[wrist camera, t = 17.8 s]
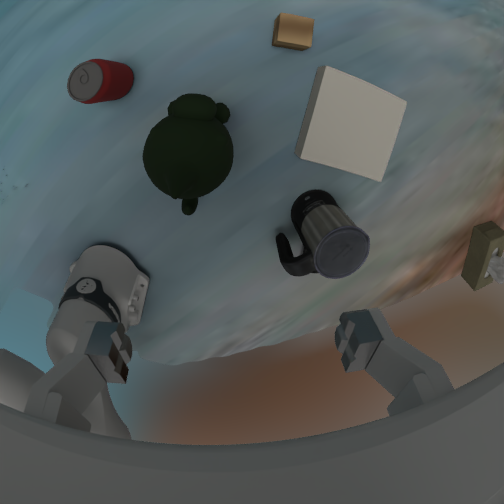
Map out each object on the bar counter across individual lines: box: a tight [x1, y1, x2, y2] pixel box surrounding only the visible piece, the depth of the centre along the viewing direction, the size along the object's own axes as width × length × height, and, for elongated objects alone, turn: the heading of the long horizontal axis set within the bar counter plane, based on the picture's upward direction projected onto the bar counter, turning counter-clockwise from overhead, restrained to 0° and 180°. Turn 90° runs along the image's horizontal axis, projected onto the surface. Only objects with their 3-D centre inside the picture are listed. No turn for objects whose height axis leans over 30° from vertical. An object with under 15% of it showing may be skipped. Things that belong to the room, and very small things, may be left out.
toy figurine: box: [143, 94, 233, 215], centre depth 32 cm, size 9×19×25 cm, turn 169°
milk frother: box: [276, 190, 370, 279], centre depth 47 cm, size 14×16×15 cm
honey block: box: [272, 13, 314, 51], centre depth 31 cm, size 5×5×5 cm
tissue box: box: [461, 221, 504, 291], centre depth 56 cm, size 19×10×16 cm, turn 12°
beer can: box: [67, 59, 134, 104], centre depth 29 cm, size 7×7×12 cm
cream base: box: [294, 66, 407, 182], centre depth 40 cm, size 16×16×4 cm
